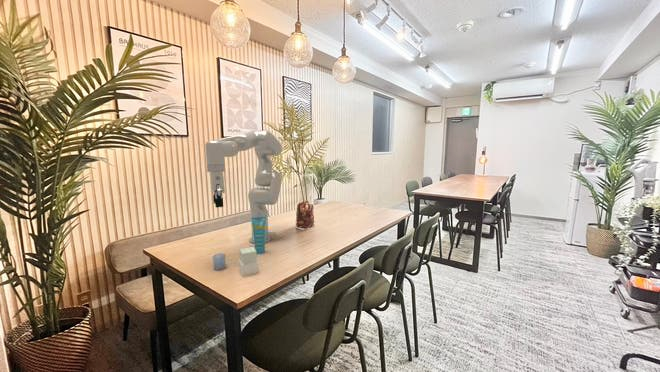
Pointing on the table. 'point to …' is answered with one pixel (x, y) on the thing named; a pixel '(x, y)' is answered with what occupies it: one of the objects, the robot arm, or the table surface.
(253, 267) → the block base
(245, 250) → the block top
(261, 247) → the tube
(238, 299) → the table surface
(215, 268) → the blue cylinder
